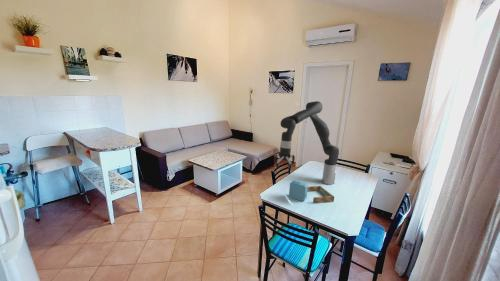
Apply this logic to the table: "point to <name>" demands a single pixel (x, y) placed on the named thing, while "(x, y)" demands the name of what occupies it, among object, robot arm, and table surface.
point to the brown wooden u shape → (328, 197)
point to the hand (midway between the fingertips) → (283, 168)
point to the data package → (298, 190)
